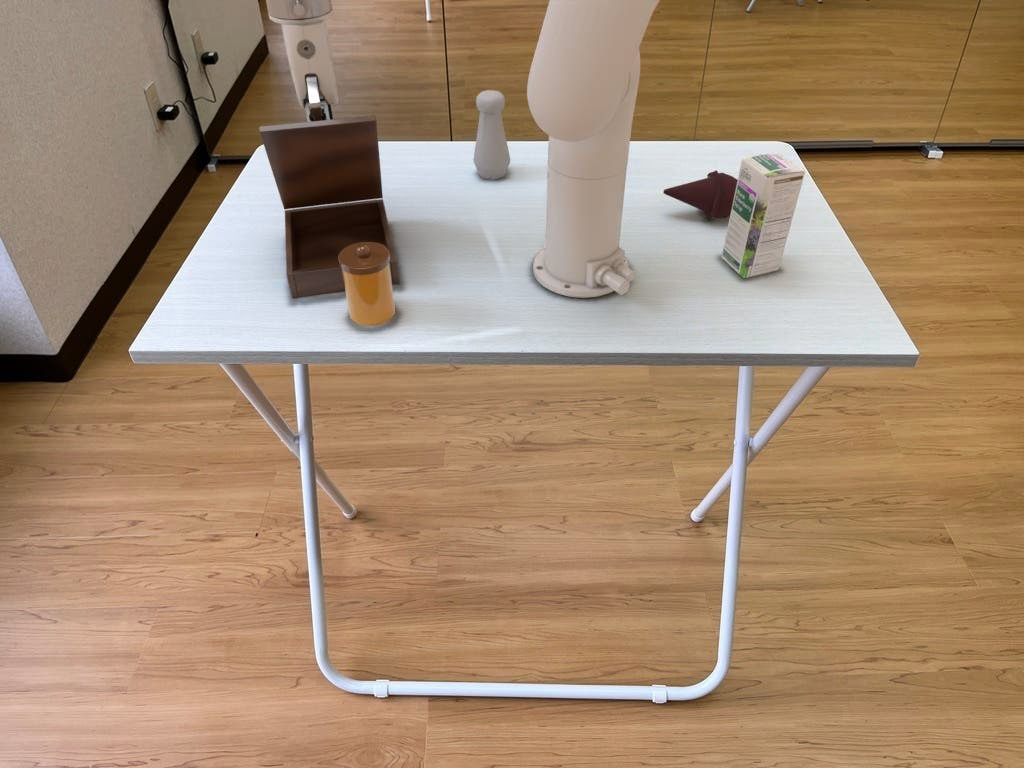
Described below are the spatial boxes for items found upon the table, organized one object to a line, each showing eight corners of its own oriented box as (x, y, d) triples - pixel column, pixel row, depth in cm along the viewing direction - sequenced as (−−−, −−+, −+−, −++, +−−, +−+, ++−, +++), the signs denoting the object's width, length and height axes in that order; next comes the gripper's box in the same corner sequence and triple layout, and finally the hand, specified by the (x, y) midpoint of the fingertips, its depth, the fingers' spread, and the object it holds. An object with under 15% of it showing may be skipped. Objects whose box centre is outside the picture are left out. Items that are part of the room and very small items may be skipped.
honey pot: (399, 327, 94) (390, 256, 88) (351, 334, 93) (338, 262, 87) (394, 300, 99) (385, 229, 92) (347, 306, 98) (334, 236, 91)
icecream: (671, 190, 107) (778, 199, 107) (667, 154, 111) (770, 163, 111) (659, 227, 112) (761, 235, 113) (656, 191, 116) (754, 199, 117)
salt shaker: (506, 183, 122) (505, 102, 113) (470, 180, 123) (466, 99, 114) (513, 167, 126) (512, 87, 118) (479, 164, 127) (476, 84, 119)
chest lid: (376, 120, 93) (375, 114, 93) (259, 132, 91) (258, 126, 91) (382, 198, 109) (382, 193, 109) (284, 209, 107) (283, 204, 107)
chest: (400, 288, 100) (396, 260, 98) (293, 303, 98) (286, 274, 95) (386, 225, 112) (382, 198, 110) (290, 237, 110) (284, 210, 107)
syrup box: (719, 258, 105) (739, 157, 96) (756, 249, 107) (779, 149, 97) (742, 280, 101) (766, 177, 92) (781, 270, 103) (807, 168, 93)
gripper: (335, 21, 86) (356, 166, 97) (327, -20, 99) (347, 112, 110) (265, 27, 85) (295, 172, 96) (267, -16, 97) (293, 118, 109)
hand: (323, 140), depth 103 cm, fingers open, 9 cm apart
